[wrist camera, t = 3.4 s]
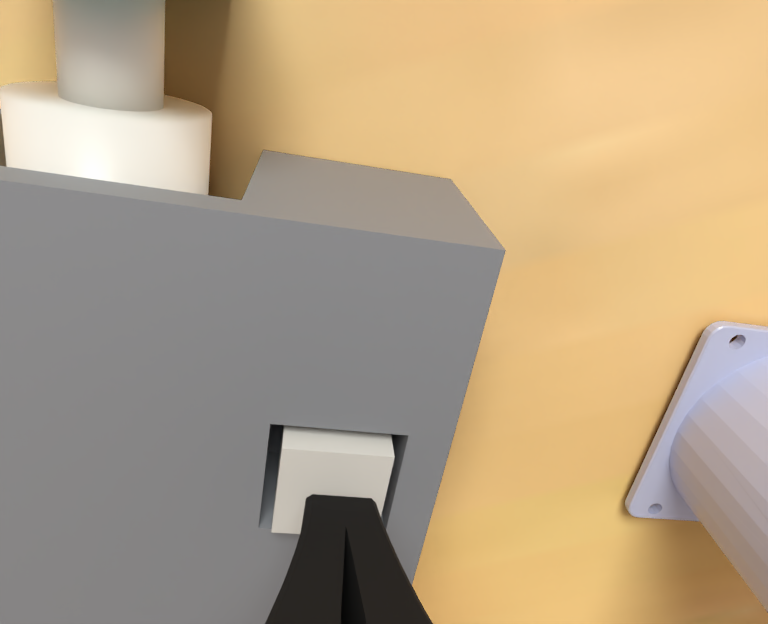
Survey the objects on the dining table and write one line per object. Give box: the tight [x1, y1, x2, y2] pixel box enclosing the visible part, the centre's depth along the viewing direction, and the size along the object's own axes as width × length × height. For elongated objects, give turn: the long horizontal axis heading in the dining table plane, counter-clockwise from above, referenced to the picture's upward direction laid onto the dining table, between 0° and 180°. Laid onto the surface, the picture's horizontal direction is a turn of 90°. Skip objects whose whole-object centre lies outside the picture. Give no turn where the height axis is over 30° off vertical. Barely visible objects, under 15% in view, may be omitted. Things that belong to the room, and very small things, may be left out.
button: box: [271, 425, 395, 534], centre depth 14 cm, size 2×2×2 cm
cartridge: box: [0, 0, 212, 195], centre depth 13 cm, size 4×16×5 cm, turn 170°
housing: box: [0, 109, 505, 624], centre depth 15 cm, size 12×12×5 cm
